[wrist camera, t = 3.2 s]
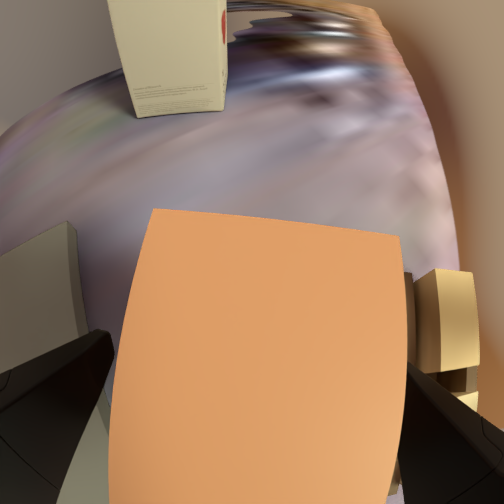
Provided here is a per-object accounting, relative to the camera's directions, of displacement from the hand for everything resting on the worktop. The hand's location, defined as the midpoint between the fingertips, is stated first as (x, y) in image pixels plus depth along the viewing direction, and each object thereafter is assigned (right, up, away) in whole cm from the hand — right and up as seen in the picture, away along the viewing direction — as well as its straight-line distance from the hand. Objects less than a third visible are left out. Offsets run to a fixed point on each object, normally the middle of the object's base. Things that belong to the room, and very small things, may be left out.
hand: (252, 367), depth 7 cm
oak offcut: (+10, -2, +7) cm, 12 cm away
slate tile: (-16, -6, +5) cm, 18 cm away
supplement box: (-7, +20, +18) cm, 28 cm away
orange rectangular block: (0, -4, +6) cm, 7 cm away
